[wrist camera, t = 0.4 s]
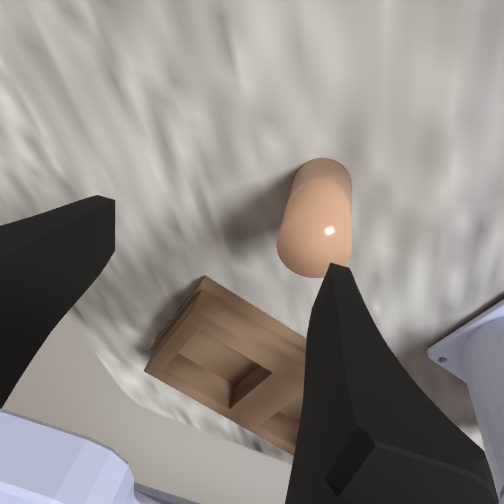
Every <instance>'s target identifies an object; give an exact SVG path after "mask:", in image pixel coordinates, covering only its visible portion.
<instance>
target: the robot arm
mask: <svg viewBox="0 0 504 504" xmlns="http://www.w3.org/2000/svg"><path fill="white" fill-rule="evenodd" d="M114 251H115V200H113V199H109V198H106V197H103V196H99V195H96V196H92V197H89V198H85V199H82V200H79V201H76V202H74V203H71V204H68V205H65V206H62V207H59V208H56V209H53V210H50V211H48V212H45V213H42V214H39V215H35V216H32V217H29V218H25V219H22V220H19V221H15V222H12V223H9V224H5V225H1V226H0V504H199V503H196V502H193V501H190V500H187V499H184V498H181V497H177V496H175V495H172V494H168V493H165V492H162V491H159V490H156V489H153V488H150V487H147V486H144V485H141V484H138V483H135V482H134V478H133V475H132V472H131V470H130V467H129V465H128V462H127V461H126V460H125V459H124V458H123V457H121V455H119V454H118V453H117V452H116V451H115V450H114V449H112V448H111V447H109V446H107V445H105V444H102V443H100V442H98V441H96V440H94V439H92V438H90V437H87V436H83V435H80V434H77V433H74V432H71V431H68V430H65V429H62V428H59V427H56V426H52V425H49V424H46V423H43V422H40V421H37V420H34V419H31V418H27V417H24V416H22V415H18V414H15V413H12V412H9V411H6V410H3V409H1V408H2V407H3V405H4V404H5V402H6V400H7V399H8V397H9V395H10V394H11V392H12V390H13V388H14V387H15V385H16V383H17V382H18V380H19V379H20V377H21V376H22V374H23V373H24V371H25V370H26V368H27V367H28V365H29V363H30V362H31V360H32V359H33V357H34V356H35V354H36V353H37V351H38V350H39V348H40V347H41V346H42V344H43V343H44V341H45V340H46V338H47V337H48V335H49V334H50V332H51V331H52V330H53V329H54V327H55V326H56V325H57V324H58V322H59V321H60V320H61V319H62V318H63V316H64V315H65V314H66V313H67V312H68V311H69V310H70V308H71V307H72V306H73V305H74V304H75V303H76V302H77V300H78V299H79V298H80V297H81V296H82V295H83V294H84V292H85V291H86V290H87V289H88V288H89V287H90V285H91V284H92V283H93V282H94V281H95V280H96V278H97V277H98V276H99V275H100V273H101V272H102V270H103V269H104V267H105V266H106V264H107V263H108V261H109V259H110V258H111V256H112V255H113V253H114ZM427 355H428V358H429V359H430V360H432V361H434V362H435V363H437V364H438V365H440V366H441V367H443V368H444V369H446V370H447V371H449V372H450V373H452V374H453V375H455V376H456V377H458V378H459V379H461V380H462V381H464V382H465V383H466V384H467V387H468V391H469V394H470V398H471V401H472V405H473V408H474V412H475V416H476V419H477V423H478V426H479V430H480V433H481V437H482V440H483V444H484V447H485V451H486V455H487V458H488V461H487V458H486V455H485V452H484V451H483V450H482V449H481V448H480V447H479V446H478V445H477V444H476V443H475V442H473V441H472V440H471V439H470V438H469V437H468V436H467V435H466V434H465V433H463V432H462V431H461V430H460V429H459V428H458V427H457V426H456V425H455V424H454V423H452V422H451V421H450V420H449V419H448V418H447V417H446V416H445V415H444V413H443V412H442V411H441V410H440V409H439V408H438V407H437V406H436V405H435V404H434V403H433V402H432V401H431V400H430V399H429V398H428V397H427V396H426V394H425V393H424V392H423V391H422V390H421V389H420V388H419V386H418V385H417V384H416V383H415V382H414V380H413V379H412V378H411V377H410V376H409V374H408V373H407V372H406V370H405V369H404V368H403V367H402V365H401V364H400V363H399V361H398V360H397V358H396V357H395V355H394V354H393V353H392V351H391V350H390V348H389V347H388V345H387V344H386V342H385V341H384V339H383V337H382V335H381V334H380V332H379V330H378V328H377V327H376V325H375V323H374V321H373V319H372V317H371V315H370V313H369V311H368V309H367V307H366V305H365V303H364V301H363V298H362V296H361V294H360V292H359V289H358V287H357V285H356V282H355V280H354V277H353V275H352V272H351V270H350V268H348V267H345V266H341V265H338V264H334V263H331V262H330V265H329V267H328V270H327V272H326V275H325V277H324V280H323V282H322V285H321V287H320V290H319V292H318V295H317V297H316V300H315V302H314V305H313V307H312V311H311V316H310V321H309V327H308V332H307V341H306V357H305V374H304V391H303V403H302V411H301V417H300V423H299V430H298V436H297V441H296V447H295V453H294V458H293V464H292V470H291V476H290V480H289V486H288V491H287V496H286V501H285V504H504V299H503V300H502V301H500V302H499V303H497V304H496V305H494V306H493V307H491V308H490V309H488V310H486V311H485V312H483V313H482V314H480V315H479V316H477V317H476V318H474V319H473V320H471V321H470V322H468V323H467V324H465V325H464V326H462V327H460V328H459V329H457V330H456V331H454V332H453V333H451V334H450V335H448V336H447V337H445V338H444V339H442V340H441V341H439V342H438V343H436V344H434V345H433V346H431V347H430V348H429V349H428V350H427ZM440 357H444V358H440ZM488 462H489V463H488ZM489 465H490V466H489ZM493 479H494V480H493ZM494 483H495V484H494ZM495 486H496V488H495ZM496 490H497V492H496ZM497 493H498V495H497ZM498 497H499V499H498Z"/></svg>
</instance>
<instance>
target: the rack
mask: <svg viewBox="0 0 504 504" xmlns="http://www.w3.org/2000/svg"><path fill="white" fill-rule="evenodd" d="M306 341H307V339H306V338H304V337H303V336H301V335H299V334H298V333H296V332H295V331H293V330H291V329H290V328H288V327H287V326H285V325H283V324H282V323H280V322H279V321H277V320H275V319H274V318H272V317H271V316H269V315H267V314H266V313H264V312H263V311H261V310H259V309H258V308H256V307H255V306H253V305H251V304H250V303H248V302H247V301H245V300H243V299H242V298H240V297H239V296H237V295H235V294H234V293H232V292H231V291H229V290H227V289H226V288H224V287H223V286H221V285H219V284H218V283H216V282H215V281H213V280H211V279H210V278H208V277H207V276H204V278H203V279H202V280H201V282H200V283H199V284H198V285H197V287H196V288H195V289H194V291H193V292H192V293H191V295H190V296H189V297H188V298H187V300H186V301H185V302H184V304H183V305H182V306H181V308H180V309H179V310H178V311H177V313H176V314H175V315H174V317H173V318H172V319H171V321H170V322H169V323H168V324H167V326H166V327H165V328H164V330H163V331H162V332H161V334H160V335H159V336H158V337H157V339H156V340H155V342H154V344H153V346H152V348H151V350H152V351H154V352H153V354H152V356H151V358H150V360H149V362H148V364H147V366H146V368H145V369H144V372H146V373H148V374H150V375H151V376H153V377H155V378H157V379H159V380H160V381H162V382H164V383H166V384H167V385H169V386H171V387H173V388H175V389H176V390H178V391H180V392H182V393H183V394H185V395H187V396H189V397H191V398H192V399H194V400H196V401H198V402H199V403H201V404H203V405H205V406H207V407H208V408H210V409H212V410H214V411H215V412H217V413H219V414H221V415H223V416H224V417H226V418H228V419H230V420H231V421H233V422H235V423H237V424H239V425H240V426H242V427H244V428H246V429H247V430H249V431H251V432H253V433H255V434H256V435H258V436H260V437H262V438H263V439H265V440H267V441H269V442H271V443H272V444H274V445H276V446H278V447H279V448H281V449H283V450H285V451H287V452H288V453H290V454H292V455H294V453H295V447H296V441H297V436H298V430H299V423H300V417H301V411H302V403H303V391H304V374H305V357H306Z"/></svg>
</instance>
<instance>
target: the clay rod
mask: <svg viewBox="0 0 504 504" xmlns="http://www.w3.org/2000/svg"><path fill="white" fill-rule="evenodd" d="M277 252H278V255H279V257H280V259H281V261H282V262H283V263H284V265H285V266H286V267H287V268H289V269H290V270H291V271H293V272H295V273H296V274H299V275H301V276H304V277H309V278H322V277H325V275H326V272H327V270H328V267H329V265H330V262H331V263H334V264H338V265H341V266H345V265H346V264H347V262H348V261H349V259H350V256H351V252H352V182H351V177H350V174H349V172H348V171H347V169H346V168H345V167H344V166H343V165H342V164H340V163H339V162H337V161H335V160H332V159H328V158H318V159H313V160H310V161H308V162H307V163H305V164H304V165H302V166H301V167H300V168H299V170H298V171H297V173H296V175H295V178H294V181H293V185H292V188H291V192H290V195H289V199H288V203H287V206H286V210H285V214H284V217H283V221H282V224H281V228H280V232H279V235H278V239H277Z"/></svg>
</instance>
